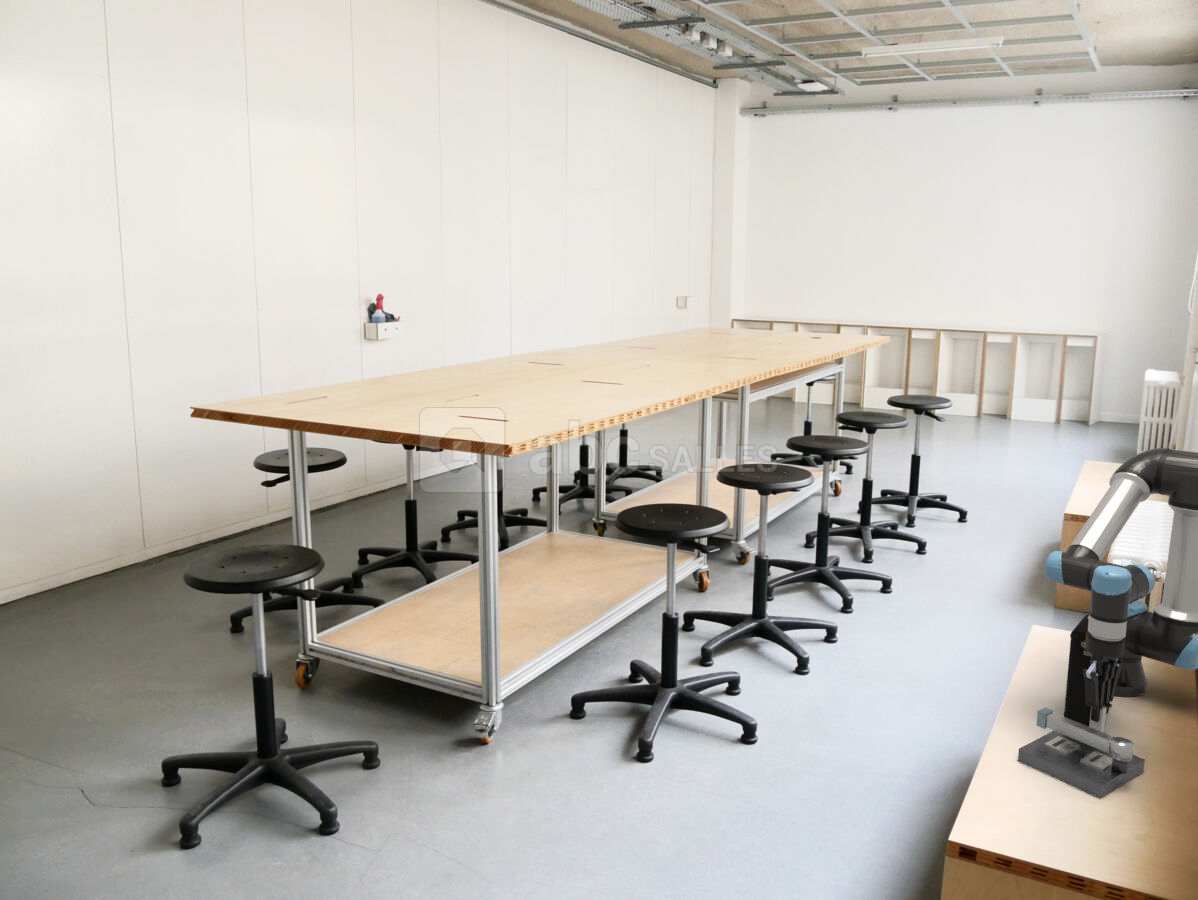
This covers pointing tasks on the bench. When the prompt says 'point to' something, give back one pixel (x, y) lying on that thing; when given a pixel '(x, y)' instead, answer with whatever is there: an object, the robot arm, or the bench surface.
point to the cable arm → (1086, 735)
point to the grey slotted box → (1079, 763)
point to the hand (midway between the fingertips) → (1096, 732)
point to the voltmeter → (1078, 675)
